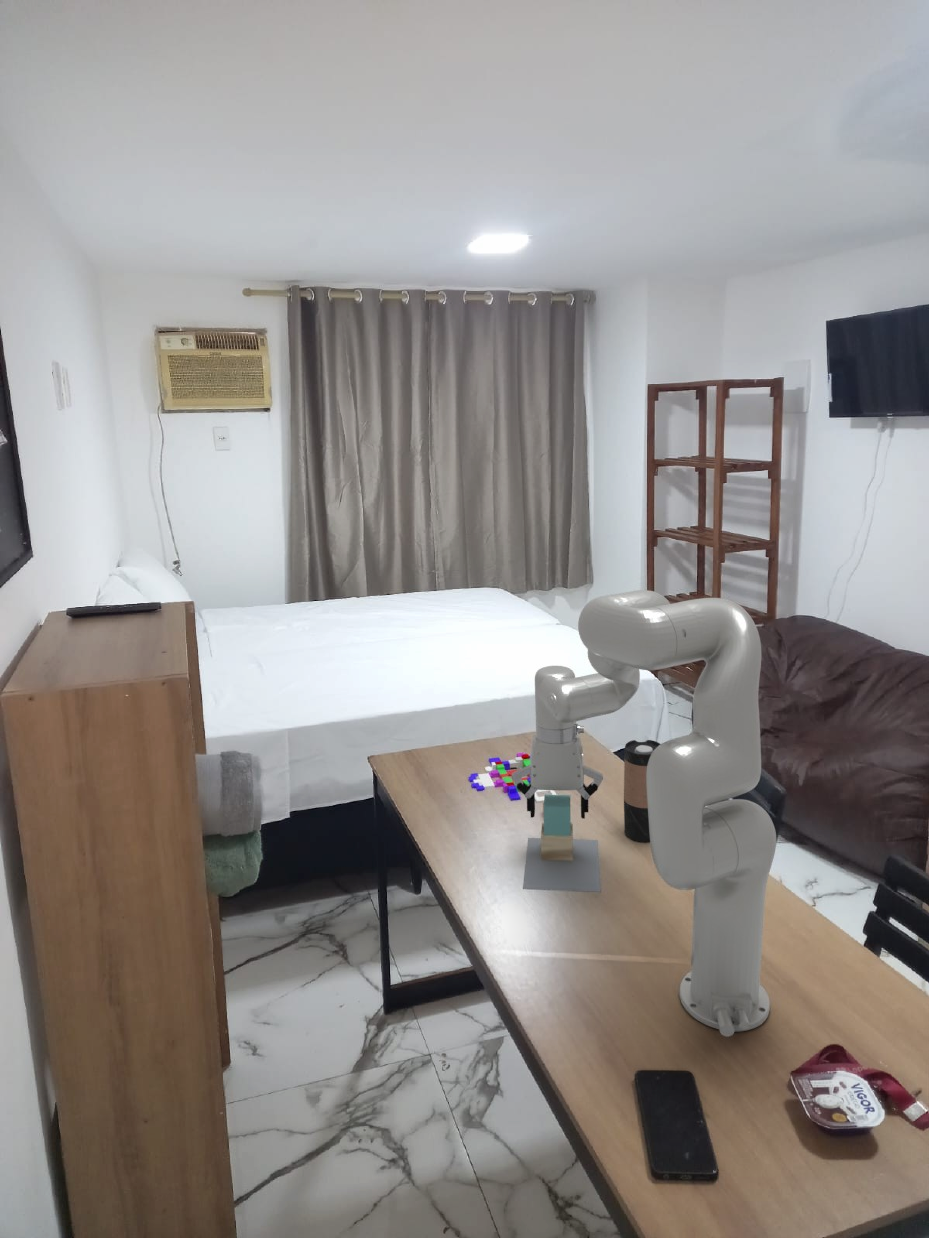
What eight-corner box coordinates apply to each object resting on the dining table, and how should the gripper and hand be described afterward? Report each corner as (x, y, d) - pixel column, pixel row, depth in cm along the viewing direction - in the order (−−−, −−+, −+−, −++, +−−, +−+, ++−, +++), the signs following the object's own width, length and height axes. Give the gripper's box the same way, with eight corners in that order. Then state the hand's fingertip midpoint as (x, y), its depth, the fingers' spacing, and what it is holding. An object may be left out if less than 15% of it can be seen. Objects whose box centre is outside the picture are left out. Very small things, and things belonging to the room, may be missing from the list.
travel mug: (646, 852, 159) (648, 758, 154) (615, 838, 164) (616, 746, 159) (669, 837, 163) (672, 746, 158) (638, 824, 169) (640, 735, 164)
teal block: (570, 835, 154) (570, 807, 153) (544, 835, 155) (543, 806, 153) (570, 822, 159) (570, 795, 157) (545, 822, 160) (544, 794, 158)
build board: (600, 896, 145) (600, 891, 145) (522, 893, 147) (522, 888, 147) (598, 844, 162) (598, 839, 162) (528, 842, 164) (528, 837, 164)
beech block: (572, 860, 155) (572, 837, 154) (541, 859, 156) (540, 836, 154) (572, 844, 161) (572, 821, 159) (542, 843, 161) (542, 820, 160)
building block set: (461, 765, 202) (460, 749, 201) (540, 756, 205) (540, 739, 204) (482, 812, 178) (481, 794, 177) (571, 801, 181) (571, 782, 180)
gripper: (602, 724, 154) (602, 806, 158) (511, 724, 156) (514, 804, 161) (603, 739, 147) (603, 825, 151) (508, 739, 149) (511, 823, 153)
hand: (557, 814), depth 156 cm, fingers open, 9 cm apart
